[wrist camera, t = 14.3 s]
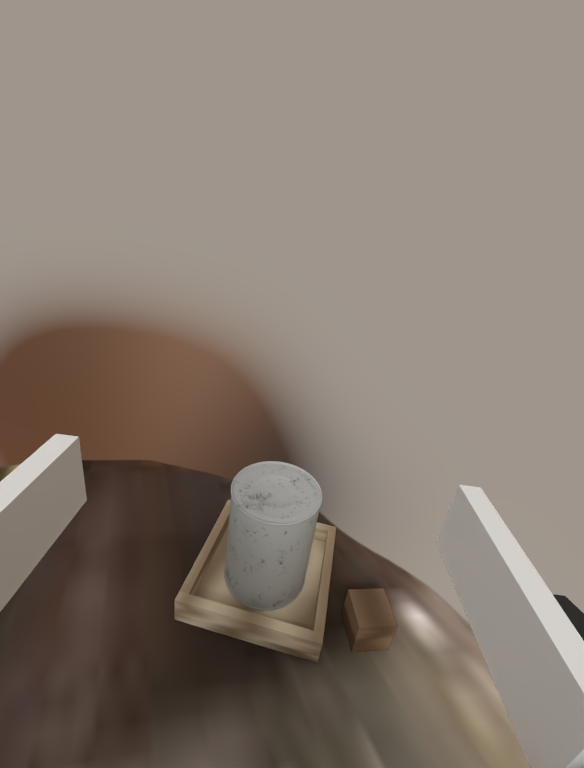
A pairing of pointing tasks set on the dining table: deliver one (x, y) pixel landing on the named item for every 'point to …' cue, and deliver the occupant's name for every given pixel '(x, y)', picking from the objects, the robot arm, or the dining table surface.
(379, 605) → the walnut block
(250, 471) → the speckled tin can
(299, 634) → the oak tray
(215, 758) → the dining table surface
